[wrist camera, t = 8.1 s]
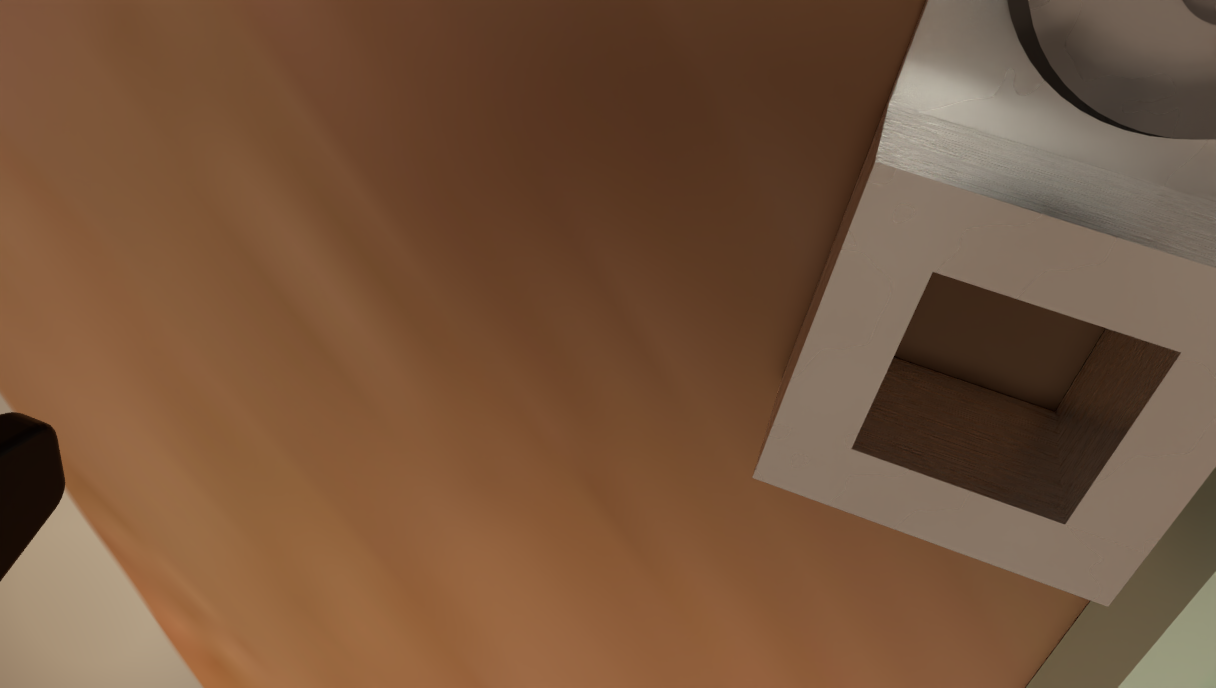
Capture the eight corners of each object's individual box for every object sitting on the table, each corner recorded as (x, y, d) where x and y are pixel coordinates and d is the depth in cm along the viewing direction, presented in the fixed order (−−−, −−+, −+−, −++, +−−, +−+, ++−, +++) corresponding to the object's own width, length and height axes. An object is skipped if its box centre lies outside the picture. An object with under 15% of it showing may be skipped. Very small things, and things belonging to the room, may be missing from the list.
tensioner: (1652, -337, 13) (1835, -340, 10) (1093, 487, 22) (1108, 607, 19) (1101, -459, 14) (1129, -492, 11) (781, 379, 23) (752, 477, 20)
